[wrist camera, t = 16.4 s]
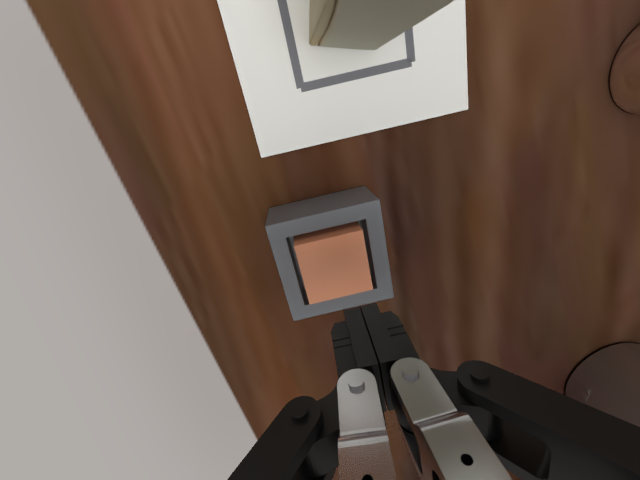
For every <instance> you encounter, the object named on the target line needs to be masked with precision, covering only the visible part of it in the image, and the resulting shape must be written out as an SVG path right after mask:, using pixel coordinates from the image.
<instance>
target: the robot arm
mask: <svg viewBox="0 0 640 480" xmlns="http://www.w3.org/2000/svg"><path fill="white" fill-rule="evenodd" d="M360 310H361V311H360ZM344 315H345V320H346V321H343V322H339V323H334V326H333V328H332V331H331V335H332V341H333V347H334V353H335V359H336V365H337V371H338V383H337V385H336V387H335V388H334V390H333V391H332V392H331V393H330V394H329V395H327V396H325V397H324V398H322V399H320V400H318V401H316V400H315V399H314V398H312V397H309V396H301V397H297V398H295V399H293V400H291V401H290V402H288V403H287V404H286V405H285V406H284V408H283V409H282V410H281V412H280V413H279V414H278V415H277V417H276V418H275V419H274V421H273V422H272V423H271V424H270V426H269V427H268V428H267V430H266V431H265V432H264V433H263V435H262V436H261V437H260V438H259V440H258V441H257V442H256V444H255V445H254V446H253V447H252V449H251V450H250V451H249V453H248V454H247V455H246V457H245V458H244V459H243V460H242V462H241V463H240V464H239V465H238V467H237V468H236V469H235V471H234V472H233V473H232V474H231V476H230V477H229V478H228V480H332V478H333V476H334V474H335V470H336V467H338V466H339V480H397V479H396V474H395V469H394V464H393V460H392V455H391V450H390V445H389V440H388V435H387V431H386V423H385V417H384V412H385V411H386V405H387V408H388V411H389V410H394V409H395V412H396V415H397V418H398V424H399V429H400V432H401V434H402V437H403V439H404V442H405V444H406V446H407V449H408V451H409V454H410V456H411V458H412V461H413V463H414V465H415V468H416V470H417V473H418V475H419V477H420V480H512V478H511V477H510V475H509V474H508V472H507V471H506V470H508V471H509V472H511V473H512V474H514V475H516V476H517V477H519V478H520V479H522V480H640V344H636V343H620V344H616V345H612V346H609V347H606V348H604V349H601V350H600V351H598V352H596V353H594V354H592V355H591V356H590V357H588V358H587V359H586V360H584V361H583V362H582V363H581V364H580V365H579V366H578V367H577V368H576V369H575V371H574V372H573V373H572V375H571V376H570V378H569V380H568V382H567V386H566V390H565V392H566V396H565V395H563V394H560V393H558V392H555V391H553V390H551V389H548V388H546V387H544V386H541V385H539V384H537V383H534V382H532V381H529V380H527V379H525V378H522V377H520V376H518V375H515V374H513V373H510V372H508V371H506V370H503V369H501V368H499V367H496V366H494V365H491V364H489V363H486V362H483V361H477V360H473V361H467V362H464V363H463V364H461V365H460V366H459V367H458V369H457V372H452V371H440V370H436V369H433V368H430V367H429V366H428V365H427V364H426V363H425V362H423V361H422V360H420V358H419V356H418V354H417V352H416V350H415V348H414V346H413V344H412V342H411V341H410V339H409V337H408V335H407V333H406V331H405V329H404V327H403V325H402V323H401V321H400V319H399V317H398V316H396V315H395V314H393V313H392V312H391V311H389V312H384V313H380V310H379V308H378V306H377V304H376V303H372V304H367V305H362V306H360V308H359V306H358V307H354V308H349V309H344ZM385 402H386V405H385Z"/></svg>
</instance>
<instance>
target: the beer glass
mask: <svg viewBox="0 0 640 480" xmlns="http://www.w3.org/2000/svg"><path fill="white" fill-rule="evenodd" d="M610 90H611V94H612V97H613V100H614V101H615V103H616V104H617V106H618V107H619V108H621V109H622V110H624V111H626V112H629V113H633V114H640V25H639V26H637V27H636V28H635V29H634V30H633V31H632V32H631V33H630V34H629V36H628V37H627V38H626V39H625V41H624V42H623V44H622V45H621V47H620V49H619V50H618V52H617V54H616V57H615V59H614V62H613V65H612V68H611V73H610Z"/></svg>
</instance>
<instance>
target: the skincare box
mask: <svg viewBox="0 0 640 480" xmlns="http://www.w3.org/2000/svg"><path fill="white" fill-rule="evenodd" d="M453 1H454V0H310V6H309V44H310V45H312V46H323V47H332V48H346V49H361V50H376V49H378V48H380V47H381V46H383V45H384V44H386V43H387V42H389V41H391V40H392V39H394V38H396V37H397V36H399V35H400V34H402V33H403V32H405V31H407V30H408V29H410V28H412V27H413V26H415V25H416V24H418V23H420V22H421V21H423V20H425V19H426V18H427V17H429V16H431V15H433V14H434V13H436V12H437V11H439V10H440V9H442V8H443V7H445V6H447V5H448V4H450V3H451V2H453Z"/></svg>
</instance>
